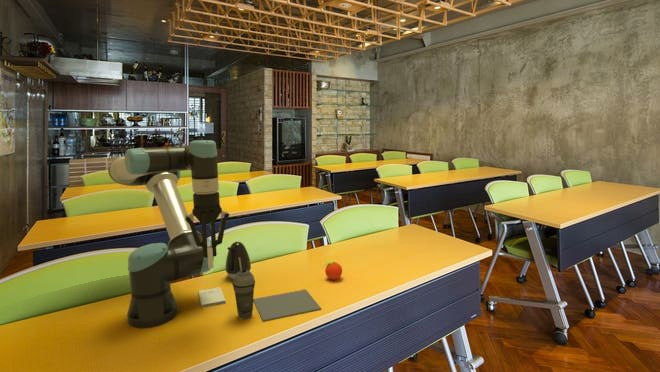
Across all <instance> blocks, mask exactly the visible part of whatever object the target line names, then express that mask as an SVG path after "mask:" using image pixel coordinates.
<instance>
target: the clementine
mask: <svg viewBox="0 0 660 372" xmlns="http://www.w3.org/2000/svg"><path fill="white" fill-rule="evenodd" d="M325 266H326V267H325ZM323 267H325V271H324V272H325V275H326V277H327V278H328V279H330V280H334V281H335V280H338V279H339V278H341V276H342V274H343V268H342V265H341V264H339V263H338V262H335V261H333V262H327V263H325V264H324V265H323Z"/></svg>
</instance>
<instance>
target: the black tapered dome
mask: <svg viewBox="0 0 660 372" xmlns="http://www.w3.org/2000/svg"><path fill="white" fill-rule="evenodd" d="M226 249H227V250H228V252H227V255H226V260H225V267H224V269H225V272H226V274H227V276H228V277H229V278H230V279H231V280H233V278H234V276H235V275H236V273H237V272H239V271H240V264H239V257H240V261H241V267H242V270H247V271H249V272H251V270H252V265H251V259H250V256H249V252H248V250H247V248H246V246H245V245H244V243H243V242H241V241H234V242H232V243H231V245H230V246H228V247H227V248H226Z"/></svg>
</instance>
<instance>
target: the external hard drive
mask: <svg viewBox="0 0 660 372" xmlns="http://www.w3.org/2000/svg"><path fill="white" fill-rule="evenodd" d="M197 293H198V298H199V303H200V307H201V309H202V308H208V307H212V306H218V305H223V304H226V302H227V301H226V299H225V296H224V293H223V291H222V288H221V287H220V286H218V287H214V288H207V289H201V290H198V291H197Z"/></svg>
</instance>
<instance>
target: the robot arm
mask: <svg viewBox="0 0 660 372" xmlns="http://www.w3.org/2000/svg"><path fill="white" fill-rule="evenodd" d="M217 150H218V149H217V143H216V142H215V141H214V140H210V139H209V140H208V139H207V140H205V139H204V140H203V139H201V140H192V141H190V142H189V145H181V146H165V147H137V148H129V149H127V150H126V151H125V154H124V156H121V157H116V158H115V159H114V160H112V161H111V162H110V164H109V166H108V169H107V172H108V175H109V177H110V179H111V180H112V181H113V182H115V183H116V184H119V185H123V186H126V187H128V186H129V187H137V186H146V187H145V188H146V189H147V190H148V192H150V193H153V195H154V198H155V202H156V204H157V206H158V209H159V212H160V215H161V217H162V220H163V224H164V226H165V229H166V231H167V234H168V236H169V239H170V240H169V241H168V243H167V244H166V243H164V242H157V243H149V244H146V245H142V246H140V247H138V248H135V249H134V250H133V251H131V253H130V254H129V255H128V257H127V261H128V262H127V263H128V264H127V265H128V266H127V270H128V274H129V284H130V297H131V298H130V301H129V305H128V310H127V315H126V318H127V324H128V325H129V326H132V327H135V328H140V327H144V328H152V327H157V326H160V325H163V324H165V323H167V322H169V321H171V320H173V319H174V318H175V317H176V316H177V315H178V313H179V306H178V303H177V300H176V298H175V297H174V294H173V292H172V289H171V282H174V281H178V280H182V279H186V278H191V277H194V276H200V275H201V274H204V273H207V272H209V271H210V270H212V269H214V259H215V257H217V255H218V254H217V246H218V245H222V243H223V239H224V234H225V229H226V224H227V221H228V219H229V217H230V213H229V212H227V211H225V210H223V209H222V207H221V202H220V201H221V200H220V192H218V191H219V190H220V187H219V170H218V166H219V165H218V151H217ZM182 171H191V173H190V174H191V187H192V192H193V194H192V200H193V208H192V212H191V213H190V214H189V213H188V211H187V209H186V205H185V204H184V201H183V198H182V197H181V194H180V192H179V189H178V186H177V185H178V182H179V180H180V178H181V172H182ZM219 216H220V224H219V229H218V234H217V236H216V221H217V220H218V217H219ZM195 218H196V219H197V220H198V222H200V224H201V226H200V227H201V232H199V231H197V228H196V225H195V222H194V221H195ZM207 223H209V227H210V239H209V238H208V237H207V236H208V234H207ZM216 238H217V239H216Z"/></svg>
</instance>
